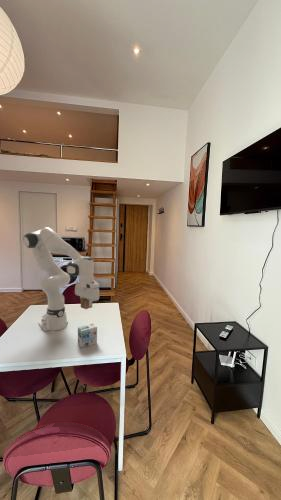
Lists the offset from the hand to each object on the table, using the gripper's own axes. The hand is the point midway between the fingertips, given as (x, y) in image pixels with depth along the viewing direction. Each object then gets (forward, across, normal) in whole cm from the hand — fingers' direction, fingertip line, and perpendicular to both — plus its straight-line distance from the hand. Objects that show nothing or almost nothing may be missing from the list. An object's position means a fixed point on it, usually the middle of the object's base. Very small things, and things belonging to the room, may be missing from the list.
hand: (86, 304), depth 136 cm
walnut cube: (+2, 0, 0) cm, 2 cm away
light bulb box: (+25, 0, +1) cm, 25 cm away
